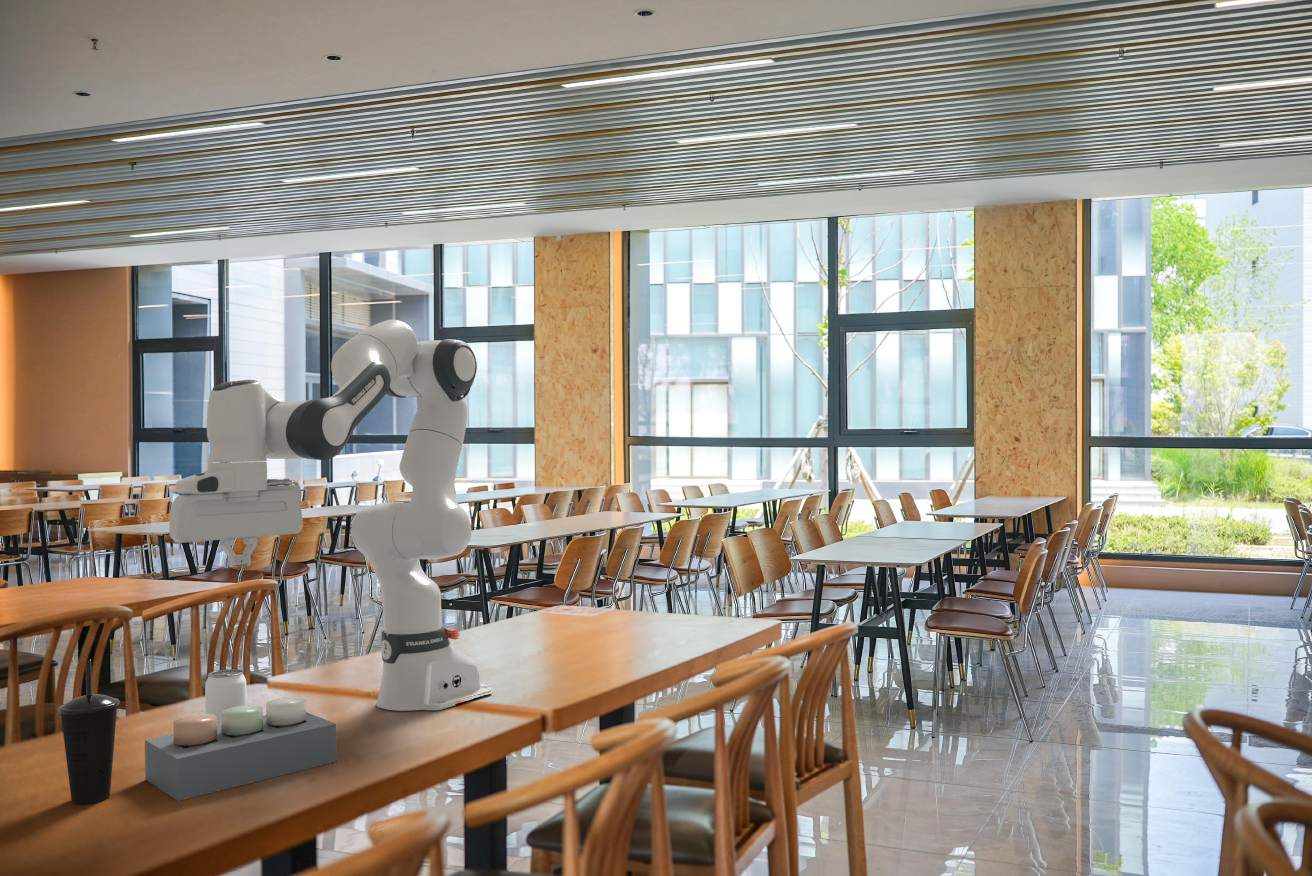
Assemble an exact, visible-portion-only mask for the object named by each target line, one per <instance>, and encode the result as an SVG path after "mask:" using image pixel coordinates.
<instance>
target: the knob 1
mask: <svg viewBox="0 0 1312 876" xmlns="http://www.w3.org/2000/svg"><path fill="white" fill-rule="evenodd" d="M172 725H173V726H172V730H173V731H172V732H173V737H174V744H177V745H188V748H189V747H194V746H199V745H203V743H206V742H210V741H212V740H214V739H216V738H217V716H216V715H212V714H206V713H200V714H191V715H186V716H182V717H179V718H176V719H174V720H173V723H172Z"/></svg>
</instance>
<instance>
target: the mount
mask: <svg viewBox="0 0 1312 876" xmlns="http://www.w3.org/2000/svg"><path fill="white" fill-rule="evenodd" d="M337 749H338V748H337V723H335V722H333V721H330V720H328V719H325V718H323V717H320V716H317V715H314V714H313V713H309V712H307V711H306V719H305V720H304V721H302V722H299V723H295V724H293V725H291V726H287V727H282V728H280V725H269V724H267V723H266V714H263V728H262V729H261V730H259V731H256V732H253V733H249V735H245V736H240V737H236V735H225V734H222V733H221V724H220V725H217V738H216V739H214V740H212V741H210V742H206V743H203V745H199V746H194V747H189V748H188V745H177V744H174V737H173V734H168V735H161V736H157V737H153V738H148V739H144V755H145V756H144V762H145V763H144V765H145V766H144V770H145V772H144V774H145V776H144V777H145V780H146V781H147V780H148V781H147V782H149V783H150V782H151V783H150V784H152V785H153V784H154V785H153V786H154V787H156V786H157V787H156V788H158V789H159V790H161V791H162V792H164V793H165V794H166V795H168V796H170V797H171V798H173V800H175V801H177V802H180V801H184V800H187V799H188V800H189V799H193V798H195V797H201V796H204V794H205V795H208V793H209V794H212V793H211V792H213V793H216V792H215V791H217V792H219V791H218V790H221V791H224V789H225V790H229V789H232V788H236V787H242V786H244V785H248V784H252V783H255V782H256V783H257V782H261V781H264V780H269V779H272V778H277V777H280V776H285V775H289V774H293V773H297V772H300V771H305V770H309V769H313V768H317V767H320V765H321V766H324V765H323V764H325V765H329V764H332V762H333V763H337V762H336V761H338V754H337V753H338V752H337V751H338V750H337ZM328 763H329V764H328ZM316 766H317V767H316ZM312 767H313V768H312ZM200 795H201V796H200Z"/></svg>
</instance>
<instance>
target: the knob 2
mask: <svg viewBox="0 0 1312 876" xmlns="http://www.w3.org/2000/svg"><path fill="white" fill-rule="evenodd" d="M306 712H307V699H306V698H305V697H303V696H286V697H279V698H274V699H271V700H268V701H267V702H266V703H265V715H266V723H267V724H269V725H280V728H282V727H287V726H291V725H293V724H295V723H299V722H302V721H304V720H305V719H306Z"/></svg>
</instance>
